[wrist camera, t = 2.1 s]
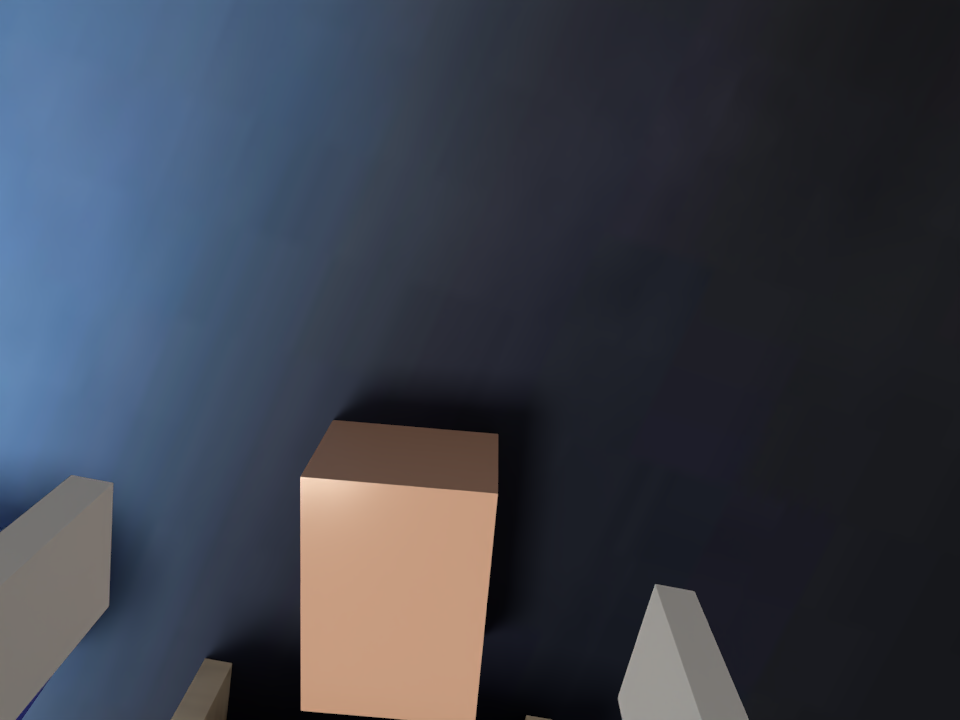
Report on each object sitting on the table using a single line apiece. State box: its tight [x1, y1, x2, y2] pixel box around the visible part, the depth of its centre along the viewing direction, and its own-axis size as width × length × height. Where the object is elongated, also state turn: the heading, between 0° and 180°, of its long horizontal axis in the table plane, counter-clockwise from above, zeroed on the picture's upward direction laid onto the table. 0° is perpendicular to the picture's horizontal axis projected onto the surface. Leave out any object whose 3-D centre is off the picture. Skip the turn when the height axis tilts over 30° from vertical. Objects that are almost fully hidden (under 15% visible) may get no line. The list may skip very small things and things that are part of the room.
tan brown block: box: [300, 420, 498, 720], centre depth 33 cm, size 12×8×6 cm, turn 176°
